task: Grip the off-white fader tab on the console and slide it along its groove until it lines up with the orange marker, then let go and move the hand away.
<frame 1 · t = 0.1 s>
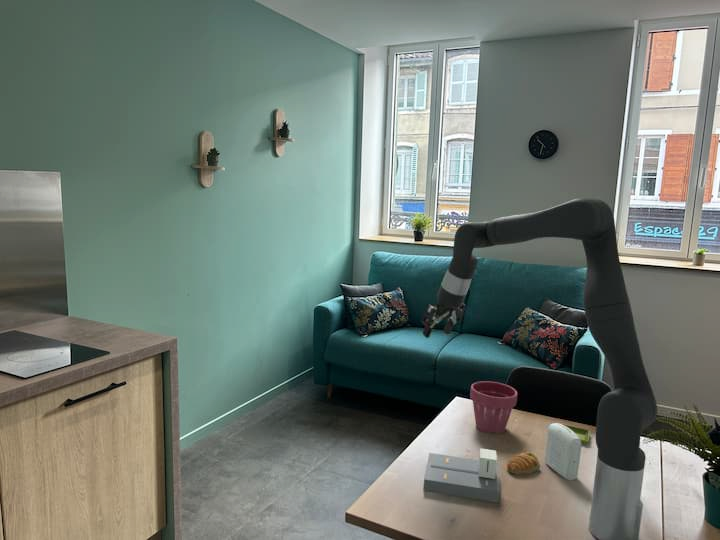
hand: (436, 334, 157), 31 cm above the table, tool tilted 20°, fingers open, 8 cm apart
console: (461, 481, 136), on the table
fader tab: (487, 463, 134), point 6 cm above the table, slide at 0.0 cm
plant pot: (490, 427, 169), on the table
pastry: (522, 470, 144), on the table
photo printer: (560, 471, 144), on the table
saucer: (573, 438, 165), on the table
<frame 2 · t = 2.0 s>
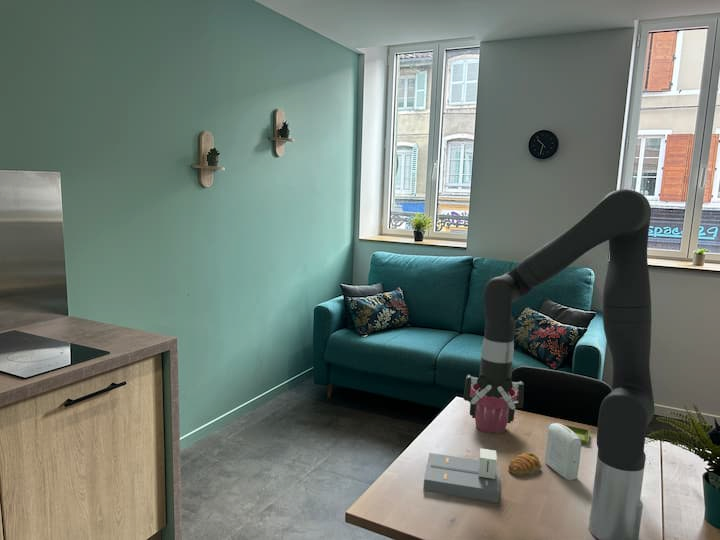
hand: (491, 419, 132), 18 cm above the table, tool pointing down, fingers open, 8 cm apart
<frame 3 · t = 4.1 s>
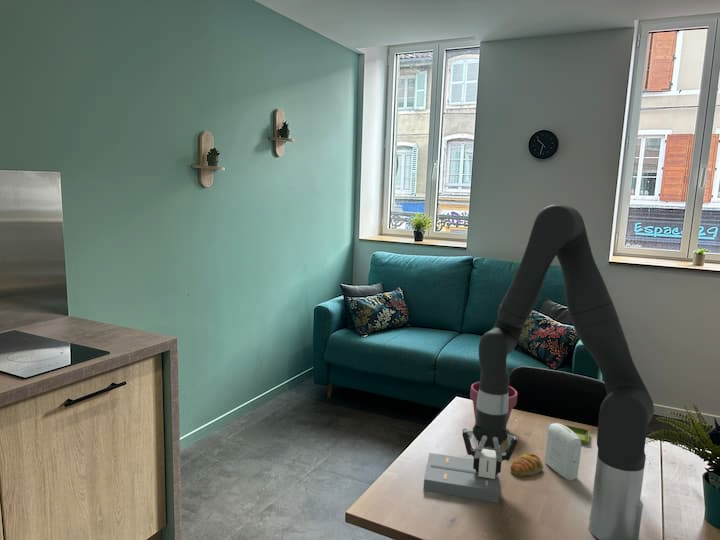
hand: (486, 471, 134), 4 cm above the table, tool pointing down, fingers closed on fader tab, 4 cm apart
fader tab: (487, 463, 134), point 6 cm above the table, slide at 0.0 cm, touching gripper
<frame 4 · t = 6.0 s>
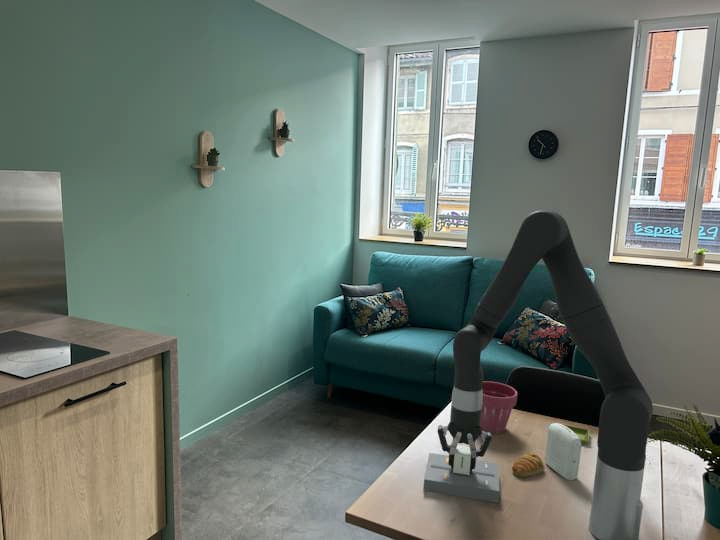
hand: (461, 467, 136), 4 cm above the table, tool pointing down, fingers closed on fader tab, 4 cm apart
fader tab: (462, 459, 135), point 6 cm above the table, slide at 6.2 cm, touching gripper
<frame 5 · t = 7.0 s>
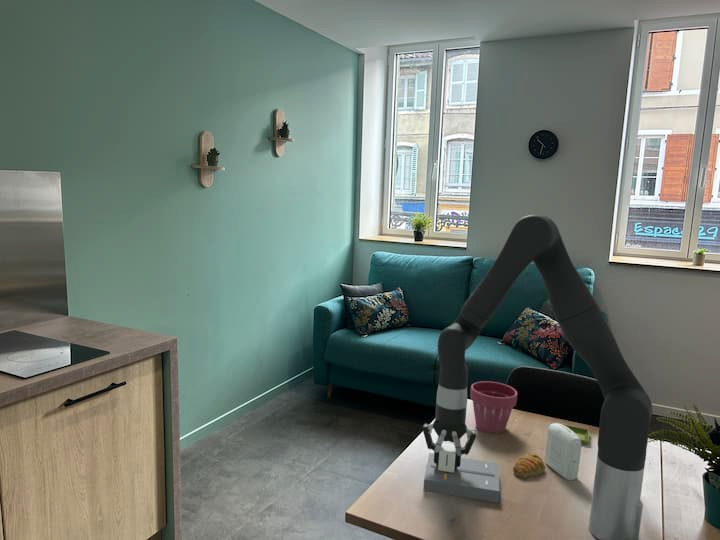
hand: (446, 465, 136), 4 cm above the table, tool pointing down, fingers closed on fader tab, 4 cm apart
fader tab: (447, 457, 136), point 6 cm above the table, slide at 10.0 cm, touching gripper
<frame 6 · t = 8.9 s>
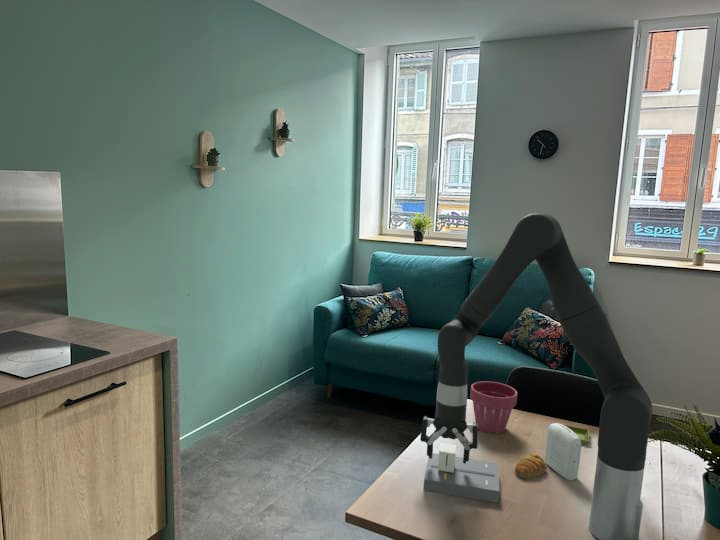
hand: (447, 459, 136), 5 cm above the table, tool pointing down, fingers open, 8 cm apart
fader tab: (447, 457, 136), point 6 cm above the table, slide at 10.0 cm
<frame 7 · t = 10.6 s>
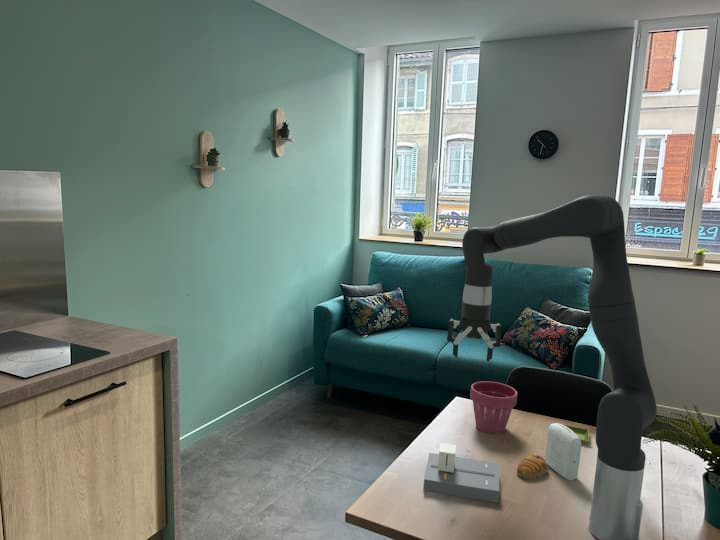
hand: (472, 358, 146), 28 cm above the table, tool pointing down, fingers open, 8 cm apart
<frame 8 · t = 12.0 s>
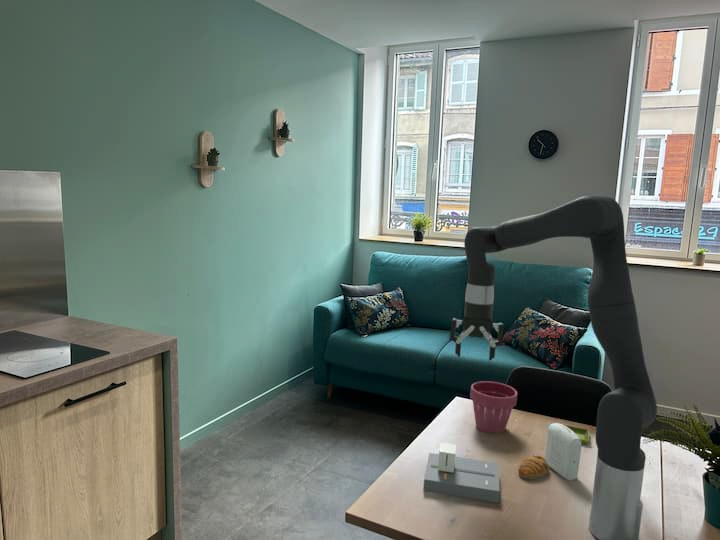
hand: (474, 357, 147), 28 cm above the table, tool pointing down, fingers open, 8 cm apart
at the end: fader tab slide at 10.0 cm; the gripper is holding nothing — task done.
